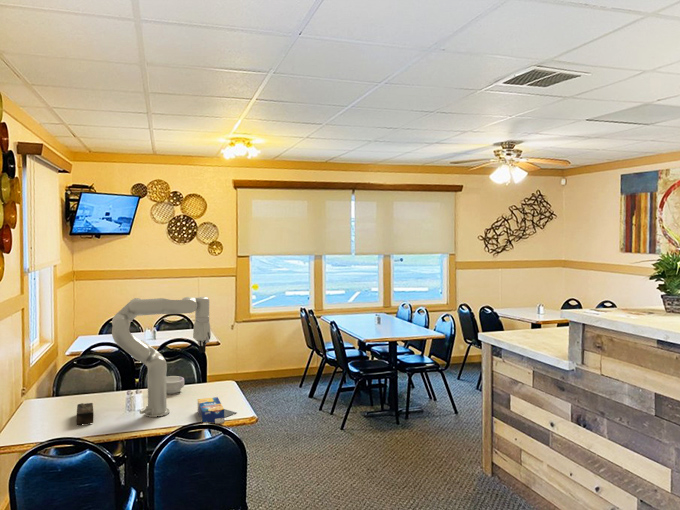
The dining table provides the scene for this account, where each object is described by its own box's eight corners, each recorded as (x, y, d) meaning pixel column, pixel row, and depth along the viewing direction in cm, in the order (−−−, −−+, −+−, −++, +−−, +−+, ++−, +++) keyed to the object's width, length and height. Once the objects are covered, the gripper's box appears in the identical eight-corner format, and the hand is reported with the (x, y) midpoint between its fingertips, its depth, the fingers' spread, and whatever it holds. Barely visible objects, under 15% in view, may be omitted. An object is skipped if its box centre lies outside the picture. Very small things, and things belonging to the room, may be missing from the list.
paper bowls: (189, 391, 330) (189, 378, 330) (166, 397, 319) (166, 383, 319) (175, 386, 341) (175, 374, 340) (153, 391, 329) (153, 379, 329)
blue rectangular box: (217, 409, 297) (224, 422, 277) (197, 411, 293) (202, 425, 273) (217, 397, 297) (224, 409, 277) (197, 399, 293) (202, 411, 273)
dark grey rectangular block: (93, 413, 291) (93, 401, 291) (93, 424, 274) (93, 411, 273) (77, 415, 288) (76, 403, 287) (76, 427, 270) (76, 414, 270)
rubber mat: (219, 419, 281) (219, 418, 281) (204, 414, 288) (204, 414, 288) (236, 413, 290) (236, 412, 290) (221, 409, 298) (221, 408, 298)
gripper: (188, 318, 300) (188, 351, 301) (205, 321, 291) (205, 355, 292) (199, 317, 306) (199, 349, 307) (216, 320, 297) (216, 353, 298)
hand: (202, 352), depth 299 cm, fingers closed
